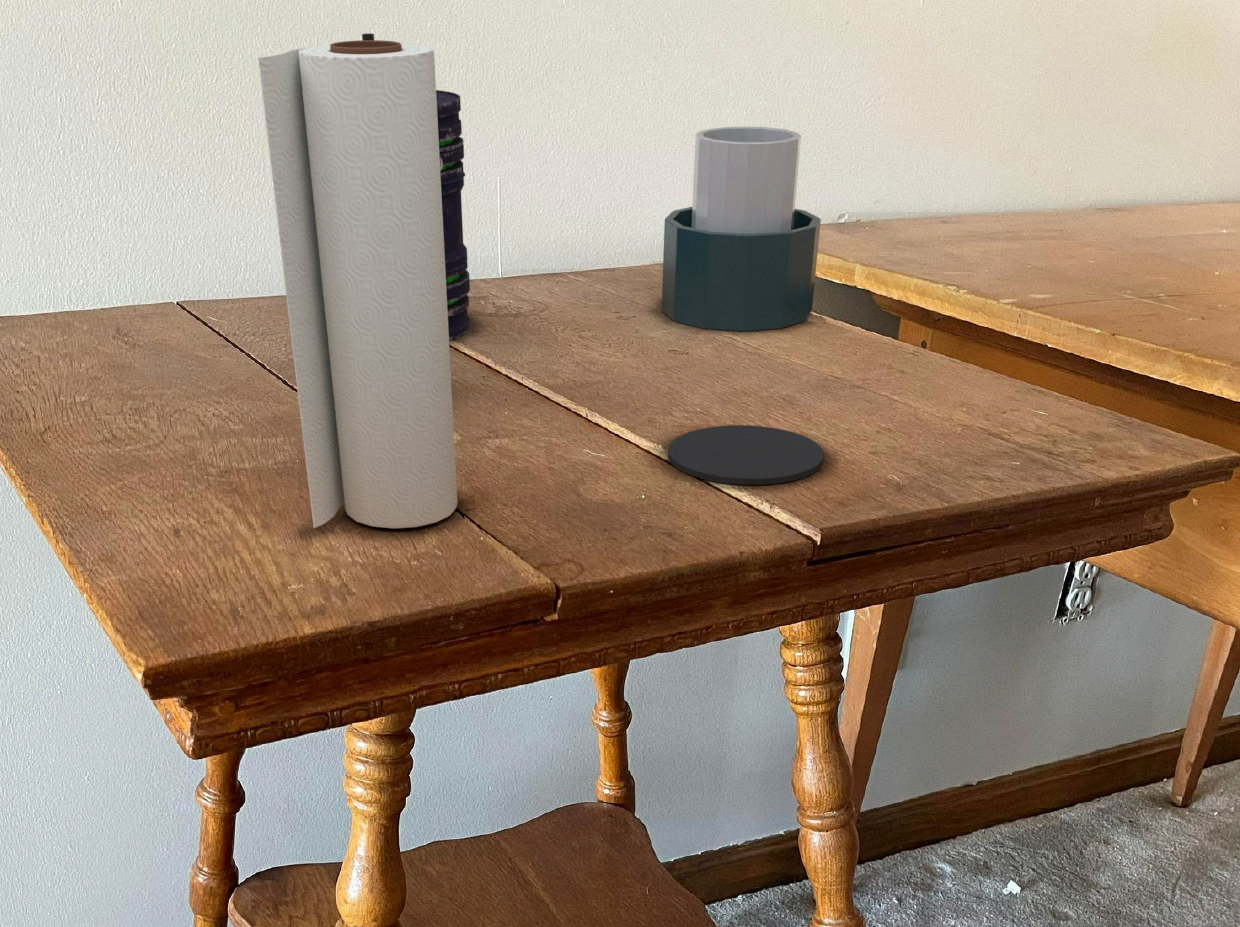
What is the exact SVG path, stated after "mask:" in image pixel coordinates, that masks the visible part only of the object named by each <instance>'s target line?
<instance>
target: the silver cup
mask: <svg viewBox="0 0 1240 927" xmlns="http://www.w3.org/2000/svg"><path fill="white" fill-rule="evenodd" d="M801 143H802V135H801V134H800V133H798V132H797V131H793V130H790V129H784V128H776V127H769V126H768V127H766V126H725V127H715V128H707V129H704V130H700V131H698V132H697V133H696V134H695V142H694V144H695V145H694V166H693V185H692V186H693V187H692V188H693V189H692V206H691V207H692V227H691V228H695V229H700V230H705V231H710V232H724V233H742V234H756V233H772V232H786V231H790V230H793V224H794V212H795V209H796V199H797V189H798V188H797V187H798V178H799V164H800V153H801Z"/></svg>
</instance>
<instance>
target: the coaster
mask: <svg viewBox="0 0 1240 927" xmlns="http://www.w3.org/2000/svg"><path fill="white" fill-rule="evenodd" d="M667 457H668V461H669V462H670V464H671V465H672V466H673V467H674V468H676V469H677V470H678V471H680V472H682V473H684V474H686V475H689V476H692V477H694V478H697V479H701V480H704V481H710V482H714V483H719V484H728V485H737V486H765V485H766V486H767V485H777V484H784V483H790V482H794V481H798V480H801V479H805V478H806V477H807V478H808V477H809V476H811V475H814V474H815V473H816V472H817V471H819V470H820V469H821V467H822V466H823V464H824V460H825V459H824V458H825V453H824V450H823V448H822V446H820V445H819V444H818V442H816V441H814V440H813V439H811V438H810V437H807V436H806V435H802V434H799V433H797V432H793V431H790V430H786V429H780V428H776V427H769V426H760V425H741V424H738V425H735V424H734V425H718V426H711V427H704V428H700V429H696V430H692V431H689V432H685V433H683V434H681V435H679V436H677V437H676V438H674V439H673V440H672V441H671V442H670V444H669V445H668V449H667Z"/></svg>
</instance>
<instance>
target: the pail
mask: <svg viewBox="0 0 1240 927" xmlns="http://www.w3.org/2000/svg"><path fill="white" fill-rule="evenodd" d="M821 220H822V219H821V217H818V216H817V215H814V214H813V213H811V212H808V211H807V210H804V209H798V208H795V212H794V224H793V230H790V231H786V232H772V233H756V234H742V233H724V232H710V231H705V230H700V229H695V228H691V227H692V206H687V207H685V208H679V209H676V210H672V211H671V212H670V213H669V214H668V215H667V216H665V218H664V229H663V230H664V231H663V257H662V282H661V284H662V286H661V290H662V291H661V312H662V313H664V314H665V315H666V316H667V317H668V318H669V319H670V320H672V322H676V323H680V324H683V325H688V326H692V327H696V328H700V329H705V330H719V331H735V332H754V331H765V330H767V331H768V330H779V329H780V330H781V329H784V328H787V327H790V326H794V325H797V324H800V323H804V322H806V321H808V319H809V317H810V315H811V313H812V311H813V305H814V304H813V303H814V294H815V282H816V275H817V274H816V272H817V262H818V253H819V242H820V230H821V222H822V221H821Z"/></svg>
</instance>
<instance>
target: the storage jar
mask: <svg viewBox="0 0 1240 927" xmlns="http://www.w3.org/2000/svg"><path fill="white" fill-rule="evenodd" d="M436 99H437V118H438V137H439V156H440V157H441V159H442V165H443V167H442V170H441V171H440V176H441V195H442V214H443V234H444V253H445V272H446V292H447V311H448V330H449V341H451V340H455V339H457V338H460V337H462V336H464V335H466V334H467V333H468V332H469V331H470V329H471V318H470V316H469V314H468V307H469V306H470V297H469V295H468V294H469V292H470V291H471V287H470V286H471V285H470V283H471V282H470V272H469V271H468V270H467V269H468V268H469V267H468V264H469V263H468V248H467V246H466V245H465V243H464V230H463V229H464V228H463V206H462V190H463V188H464V186H465V178H464V177H466V173H465V171H464V161H463V159H464V158H465V145H464V142H465V141H464V138H463V137H462V134H463V132H462V130H463V129H462V128H463V127H462V119H460V112H461V110H462V107H461V106H462V105H461V95H460V94H458V93H456V92H452V91H448V90H441V89H436Z"/></svg>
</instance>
